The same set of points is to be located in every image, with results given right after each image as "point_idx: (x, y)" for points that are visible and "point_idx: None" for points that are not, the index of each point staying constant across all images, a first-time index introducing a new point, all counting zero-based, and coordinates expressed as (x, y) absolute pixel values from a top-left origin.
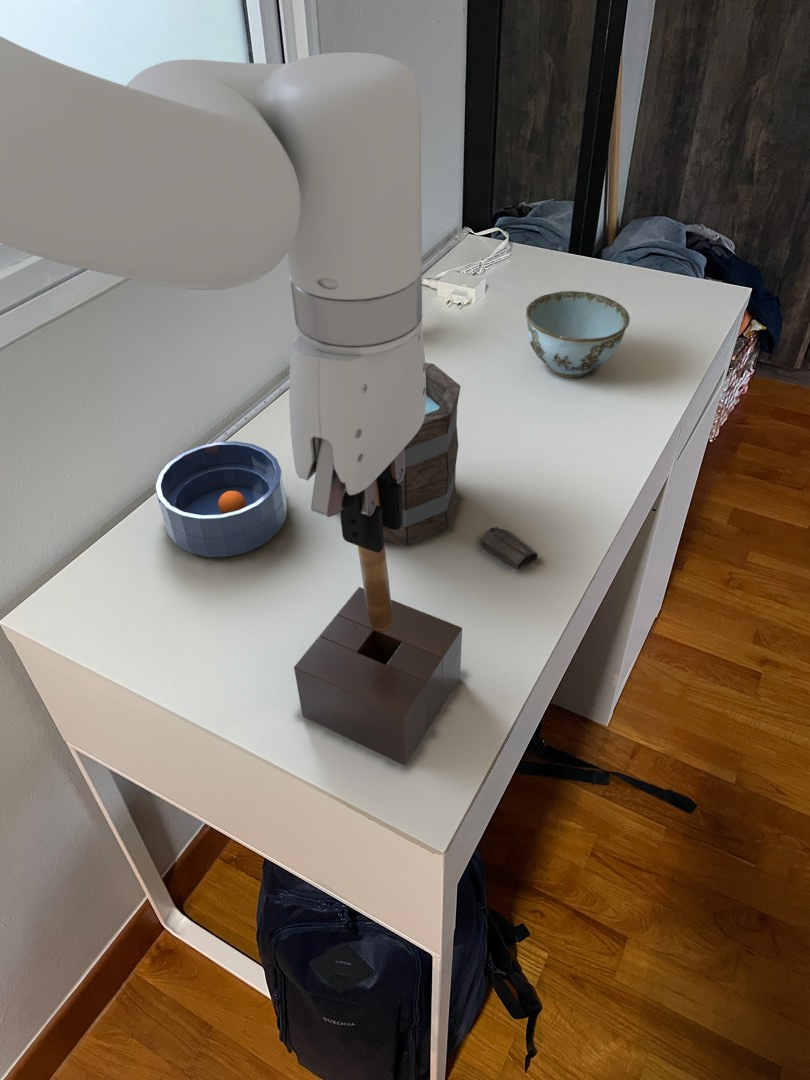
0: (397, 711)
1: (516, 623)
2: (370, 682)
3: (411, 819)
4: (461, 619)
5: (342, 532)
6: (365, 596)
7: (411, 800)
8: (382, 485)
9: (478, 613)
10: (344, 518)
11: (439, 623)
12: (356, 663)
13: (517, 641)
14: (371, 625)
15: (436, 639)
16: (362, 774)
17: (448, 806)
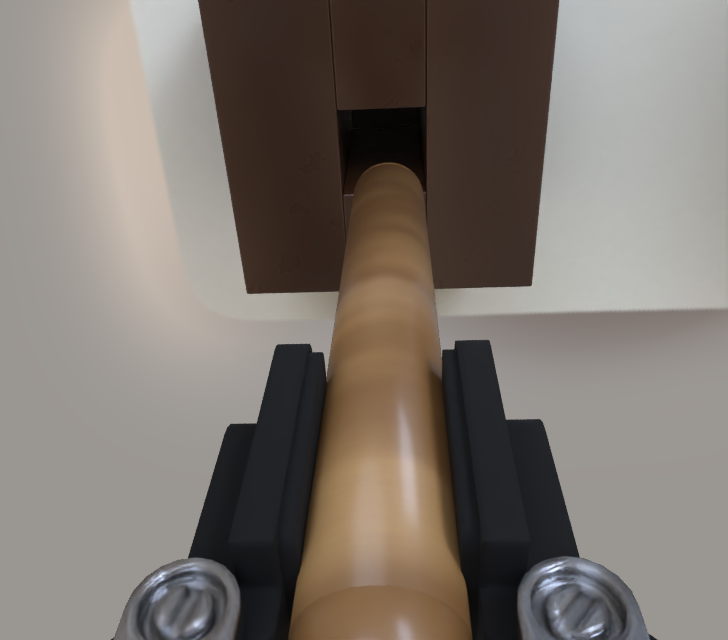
0: (249, 278)
1: (691, 238)
2: (277, 191)
3: (198, 268)
4: (666, 133)
5: (271, 365)
6: (354, 220)
7: (226, 253)
8: (472, 638)
9: (697, 158)
10: (201, 517)
11: (521, 238)
12: (306, 130)
13: (642, 259)
14: (354, 189)
15: (470, 255)
16: (212, 156)
17: (254, 304)
